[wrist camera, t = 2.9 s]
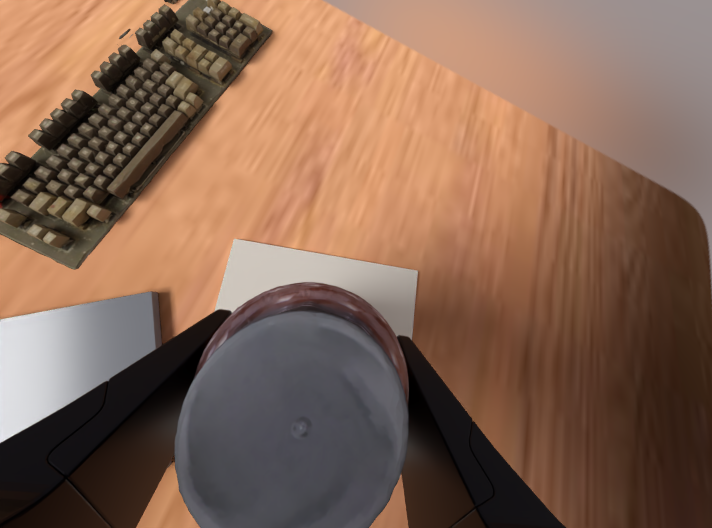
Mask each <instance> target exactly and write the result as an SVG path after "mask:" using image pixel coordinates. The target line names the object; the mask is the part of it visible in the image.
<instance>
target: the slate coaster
mask: <svg viewBox="0 0 712 528" xmlns="http://www.w3.org/2000/svg"><path fill="white" fill-rule="evenodd" d="M161 345H162V339H161V326H160V314H159V302H158V293H157V292H146V293H141V294H135V295H130V296H124V297H119V298H114V299H108V300H103V301H97V302H92V303H87V304H81V305H76V306H70V307H65V308H60V309H54V310H49V311H43V312H38V313H33V314H27V315H22V316H16V317H11V318H6V319H0V443H1V442H2V441H4V440H6V439H8V438H10V437H11V436H13V435H15V434H17V433H19V432H20V431H22V430H24V429H26V428H28V427H29V426H31V425H33V424H35V423H36V422H38V421H40V420H42V419H43V418H45V417H47V416H49V415H50V414H52V413H54V412H56V411H57V410H59V409H61V408H63V407H64V406H66V405H68V404H69V403H71V402H73V401H74V400H76V399H77V398H79V397H81V396H82V395H84V394H86V393H87V392H89V391H90V390H92V389H94V388H95V387H97V386H98V385H100V384H101V383H103V382H105V381H109V379H110V378H111V377H113V376H114V375H116V374H117V373H119V372H120V371H122V370H124V369H125V368H127V367H128V366H130V365H131V364H133V363H135V362H136V361H138V360H139V359H141V358H142V357H144V356H146V355H147V354H149V353H150V352H152V351H153V350H155V349H157V348H158V347H160V346H161ZM171 464H172V463H171V461H170V463H169V465H168V467H169V466H170V465H171ZM168 467H167V468H168Z"/></svg>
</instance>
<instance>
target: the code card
mask: <svg viewBox="0 0 712 528" xmlns="http://www.w3.org/2000/svg"><path fill="white" fill-rule="evenodd" d="M417 275H418V271H417V270H411V269H405V268H399V267H394V266H388V265H382V264H376V263H371V262H365V261H359V260H354V259H348V258H342V257H336V256H331V255H325V254H319V253H313V252H308V251H302V250H296V249H291V248H285V247H279V246H273V245H268V244H262V243H256V242H251V241H245V240H239V239H234V241H233V245H232V248H231V252H230V256H229V260H228V263H227V267H226V271H225V274H224V278H223V282H222V285H221V289H220V293H219V297H218V300H217V304H216V308H215V311H216V310H218V309H224V310H230V311H231V312H232V313H233V312H234V311H235V310H236V309H237V308H238V307H240V306H242V305H243V304H244V303H246V302H247V301H248V300H250V299H252V298H254V297H255V296H257V295H259V294H261V293H263V292H265V291H268V290H270V289H273V288H275V287H278V286H284V285H289V284H294V283H302V282H316V283H324V284H328V285H333V286H337V287H340V288H342V289H345V290H347V291H350V292H352V293H354V294H356V295H358V296H360V297H361V298H363V299H364V300H366V301H367V302H368V303H369V304H371V305H372V306H373V307H374V308H375V309H376V310H377V311H378V312H379V313H380V314H381V315H382V316H383V318H384V319H385V320H386V321H387V322H388V324H389V326H390V327H391V328H392V330H393V332H394V333H395V335H396V337H397V336H398V335H403V336H408V337H410V339H411V340H412V333H413V322H414V310H415V298H416V286H417ZM215 311H214V312H215Z"/></svg>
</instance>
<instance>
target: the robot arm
mask: <svg viewBox="0 0 712 528" xmlns="http://www.w3.org/2000/svg"><path fill="white" fill-rule="evenodd" d="M231 314H232V312H231V311H230V310H224V309H218V310H216V311H215V312H213V313H212V314H210V315H208V316H207V317H205V318H204V319H202V320H201V321H199V322H197V323H196V324H194V325H193V326H191V327H190V328H188V329H186V330H185V331H183V332H182V333H180V334H179V335H177V336H175V337H174V338H172V339H171V340H169V341H168V342H166V343H164V344H163V345H161V346H160V347H158V348H157V349H155V350H153V351H152V352H150V353H149V354H147V355H146V356H144V357H142V358H141V359H139V360H138V361H136V362H135V363H133V364H131V365H130V366H128V367H127V368H125V369H124V370H122V371H120V372H119V373H117V374H116V375H114V376H113V377H111V378H110V379H109V381H105V382H103V383H101V384H100V385H98V386H97V387H95V388H94V389H92V390H90V391H89V392H87V393H86V394H84V395H82V396H81V397H79V398H77V399H76V400H74V401H73V402H71V403H69V404H68V405H66V406H64V407H63V408H61V409H59V410H57V411H56V412H54V413H52V414H50V415H49V416H47V417H45V418H43V419H42V420H40V421H38V422H36V423H35V424H33V425H31V426H29V427H28V428H26V429H24V430H22V431H20V432H19V433H17V434H15V435H13V436H11V437H10V438H8V439H6V440H4V441H2V442H1V443H0V528H136V526H137V525H138V523H139V521H140V519H141V517H142V515H143V513H144V511H145V509H146V507H147V505H148V503H149V502H150V500H151V498H152V496H153V494H154V492H155V490H156V488H157V486H158V484H159V482H160V481H161V479H162V477H163V475H164V473H165V471H166V469H167V467H168V465H169V463H170V461H171V460H172V458H173V456H174V451H175V436H176V433H177V426H178V420H179V417H180V414H181V410H182V405H183V401H184V399H185V397H186V395H187V393H188V390H189V388H190V386H191V384H192V381H193V380H194V378H195V373H196V370H197V366H198V364H199V361H200V358H201V357H202V354H203V352H204V349H205V348H206V347H207V344H208V343H209V341H210V340H211V338H212V337H213V335H214V334H215V332H216V331H217V330H218V328H219V327H220V326H221V325H222V324H223V323H224V321H225V320H226V319H227V318H228V317H229V316H230V315H231ZM397 339H398V342H399V344H400V347H401V349H402V352H403V354H404V358H405V362H406V366H407V372H408V382H409V400H408V430H409V434H408V447H407V453H406V459H405V462H404V466H403V469H402V472H401V473H402V480H403V488H404V496H405V503H406V511H407V519H408V526H409V528H566V527H565V526H564V525H563V524H562V523H561V522H560V521H559V520H558V519H557V518H556V517H555V516H554V515H553V514H552V513H551V512H550V511H549V510H548V508H547V507H546V506H545V505H544V504H543V503H542V502H541V501H540V499H539V498H538V497H537V496H536V495H535V494H534V493H533V491H532V490H531V489H530V488H529V487H528V486H527V485H526V484H525V482H524V481H523V480H522V479H521V478H520V477H519V476H518V474H517V473H516V472H515V471H514V470H513V469H512V468H511V466H510V465H509V464H508V463H507V462H506V461H505V459H504V458H503V457H502V456H501V455H500V454H499V452H498V451H497V450H496V449H495V448H494V446H493V445H492V444H491V443H490V441H489V440H488V439H487V438H486V436H485V435H484V434H483V433H482V431H481V430H480V429H479V427H478V426H477V425H476V423H475V422H474V421H472V418H471V417H470V416H469V414H468V413H467V412H466V410H465V409H464V408H463V407H462V405H461V404H460V403H459V401H458V400H457V399H456V397H455V396H454V395H453V394H452V392H451V391H450V390H449V388H448V387H447V386H446V384H445V383H444V382H443V380H442V379H441V378H440V377H439V375H438V374H437V373H436V371H435V370H434V369H433V367H432V366H431V365H430V363H429V362H428V361H427V360H426V358H425V357H424V356H423V354H422V353H421V352H420V350H419V349H418V348H417V346H416V345H415V344H414V343H413V341H412V340H411V339H410V337H408V336H403V335H398V336H397Z"/></svg>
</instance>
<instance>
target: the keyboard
mask: <svg viewBox="0 0 712 528" xmlns="http://www.w3.org/2000/svg"><path fill="white" fill-rule="evenodd" d="M164 1H165V2H169V3H171V4H174V3H176V2H177V1H178V0H164ZM143 27H144V30H143V29H142V28H139V29H138V30H137V31H136V32H135V34H136V37H137V40H138V44H139V45H141V46H143V47H142V48H141V49H140V50H139V51H138V52H137V53H135V52H134V51H133V50H132V49H131V48H129V47H128V46H126V45H122V46H121V47H120V48H118V51H119V54H116V53H113V54H112V55H110V56H109V57H108V58H109V61H110V63H108V62H105V61H104V62H103V63H102V64H101V65H100V69H101V72H99V71H94V72H93V73H92V74H91V77H92V79H93V81H94V83H95V85H96V86H97V87H99V88H101V89H100V90H99V91H98V92H97V93H96V94H95V95H94V96H93V97H92V96H90V95H89V94H87V93H86V92H84V91H80V90H74V91H73V93H72V94H71V95H72V98H73V100H71V99H67V98H66V99H65V100H64V101H63V102H62V103H61V106H62V108H63V109H64V110H59V109H57V108H56V109H55V110H54V111H53V112H52V113H50V115H51V117H52V119H53V120H50V119H46V118H45V119H44V120H43V121H42V123H41V124H40V127H41V129H42V130H43V131H42V130H37V129H34V130H33V131H32V132H31V133H30V134H29V135H28V136H29V137H30V138H31V139H32V140H33V141H34V142H35V143H37V144H38V145H39V146H41V148H40V149H39V150H38V151H37V152H36V153H35V154H34V155H33V156H32V157H31V158H29V157H27V156H25V155H23V154H21V153H18V152H14V151H11V152H10V153H9V154H8V155H7V156H6V157H5V159H6V160H7V162H8V163H9V164H6V163H0V234H1V235H3V236H5V237H7V238H9V239H11V240H13V241H15V242H17V243H19V244H21V245H23V246H25V247H28V248H30V249H32V250H34V251H36V252H38V253H40V254H42V255H44V256H47V257H49V258H51V259H53V260H55V261H56V262H58V263H60V264H63V265H65V266H67V267H69V268H71V269H74V270H75V269H78V268H79V267H80V266H81V264H82V263H83V262H84V260H85V259H86V258H87V256H88V255H89V254H90V253H91V252H92V251H93V250H94V249H95V247H96V246H97V245H98V244H99V243H100V241H101V240H102V239H103V238H104V237H105V235H106V234H107V233H108V232H109V231H110V230H111V228H112V227H113V225H114V224H115V223H116V222H117V220H118V219H119V218H120V217H121V216H122V215H123V214H124V212H125V211H126V210H127V209H128V208H129V206H130V205H131V204H132V203H133V202H134V201H135V200H136V198H137V197H138V196H139V194H140V193H141V192H142V191H143V189H144V188H145V187H146V186H147V185H148V184H149V183H150V181H151V180H152V178H153V176H154V175H155V174H156V173H157V172H158V171H159V169H160V168H161V167H162V166H163V164H164V163H165V162H166V161H167V159H168V158H169V157H170V155H171V154H172V153H173V152H174V151H175V150H176V149H177V148H178V146H179V145H180V144H181V143H182V142H183V140H184V139H185V138H186V137H187V136H188V135H189V133H190V132H191V131H192V130H193V128H194V127H195V126H196V125H197V123H198V122H199V121H200V120H201V119H202V118H203V116H204V115H205V114H206V113H207V112H208V111H209V109H210V108H211V107H212V106H213V104H214V103H215V102H216V101H217V100H218V99H219V97H220V96H221V95H222V94H223V93H224V91H225V90H226V89H227V88H228V86H229V85H230V84H231V83H232V82H233V81H234V80H235V78H236V77H237V76H238V75H239V73H240V72H241V71H242V69H243V68H244V67H245V66H246V65H247V64H248V62H249V61H250V60H251V58H252V57H253V56H254V55H255V53H256V52H257V51H258V50H259V49H260V47H261V46H262V45H263V44H264V43H265V41H266V40H267V39H268V38H269V37H270V35H271V33H272V30H271V29H269V28H267V27H266V26H264V25H262V24H260V22H259V21H258V20H256V19H255V18H253V17H251V16H249V15H247V14H245V13H244V14H242V13H240V11H238V10H237V9H235V8H234V7H233V8H231V7H230V6H229V5H228V4H227V3H225V2H223V1H222V2H221V1H220V0H189V1H187V2H186V3H185V4H184V5H183V6H182V7H181V8H180V9H179V10H178V11H177V12H176V13H174V12H173V11H172V9H171V8H169V7H168V6H166V5H165V4H164V5H163V6H162V7H161V8H159V13H157V12H156V13H155V14H153V15H152V16H151V21H150V20H147V21H146V22H145V23H144V24H143ZM129 31H130V29H128V30H127V31H126V32H125V33H124V34H122V35H121V36H120V37H119V39H122V38H123V37H124V36H125V35H126V34H127V33H128V32H129ZM132 35H133V34H132ZM132 35H131V36H132ZM131 36H130V37H131ZM117 45H118V44H117Z"/></svg>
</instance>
